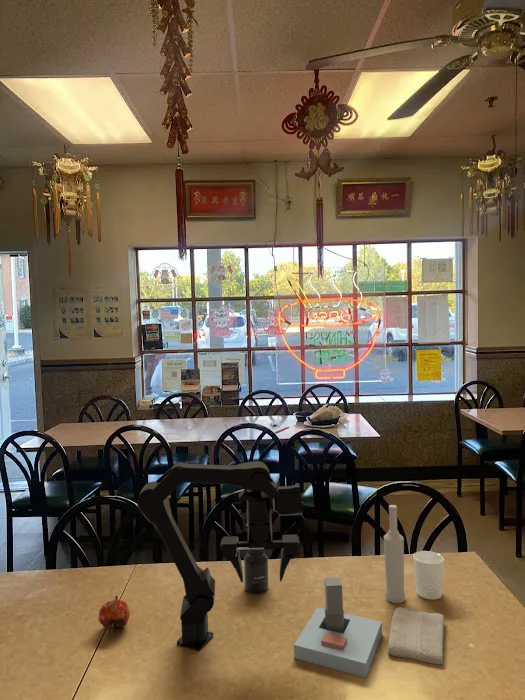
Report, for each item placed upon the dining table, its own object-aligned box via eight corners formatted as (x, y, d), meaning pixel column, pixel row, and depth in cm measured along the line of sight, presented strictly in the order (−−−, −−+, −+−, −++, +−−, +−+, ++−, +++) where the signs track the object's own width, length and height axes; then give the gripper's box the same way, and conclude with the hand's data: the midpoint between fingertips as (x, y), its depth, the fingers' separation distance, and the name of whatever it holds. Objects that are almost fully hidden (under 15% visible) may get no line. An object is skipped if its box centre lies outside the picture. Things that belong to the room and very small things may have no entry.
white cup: (449, 601, 128) (448, 563, 128) (419, 601, 128) (418, 564, 128) (438, 585, 136) (438, 550, 136) (410, 586, 136) (409, 551, 136)
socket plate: (366, 677, 100) (365, 659, 100) (294, 658, 107) (293, 641, 107) (382, 634, 115) (381, 618, 115) (317, 619, 122) (317, 604, 122)
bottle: (406, 604, 127) (403, 509, 126) (385, 602, 128) (383, 509, 128) (404, 594, 132) (402, 503, 132) (384, 592, 133) (382, 502, 133)
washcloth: (444, 622, 120) (444, 609, 120) (445, 669, 103) (444, 655, 103) (394, 614, 124) (394, 602, 124) (387, 658, 107) (387, 644, 107)
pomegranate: (129, 643, 118) (138, 601, 126) (118, 631, 114) (128, 588, 121) (100, 645, 119) (111, 603, 127) (88, 633, 115) (100, 590, 122)
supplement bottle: (258, 596, 133) (257, 553, 133) (239, 589, 137) (238, 547, 137) (273, 586, 139) (272, 544, 138) (254, 579, 143) (253, 539, 142)
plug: (327, 642, 112) (325, 586, 112) (324, 631, 117) (322, 577, 117) (346, 641, 112) (343, 585, 112) (342, 630, 117) (340, 576, 117)
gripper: (296, 503, 123) (298, 564, 124) (223, 505, 124) (225, 566, 124) (299, 520, 112) (301, 586, 113) (218, 522, 112) (221, 588, 113)
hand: (261, 581), depth 116 cm, fingers open, 9 cm apart
